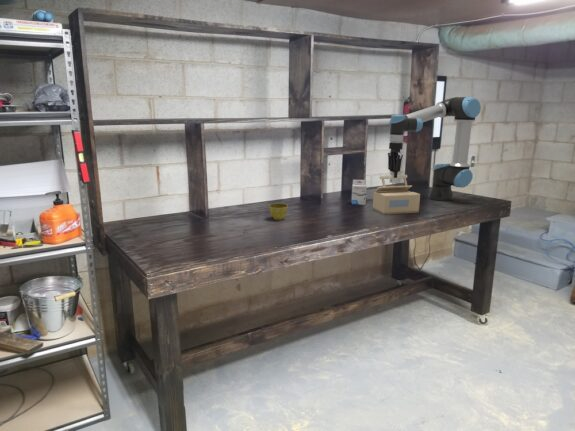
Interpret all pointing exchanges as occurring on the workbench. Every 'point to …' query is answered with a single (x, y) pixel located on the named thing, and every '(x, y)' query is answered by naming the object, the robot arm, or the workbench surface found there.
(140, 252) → the workbench surface
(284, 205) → the flower pot
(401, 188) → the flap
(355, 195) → the ink box
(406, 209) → the carton
